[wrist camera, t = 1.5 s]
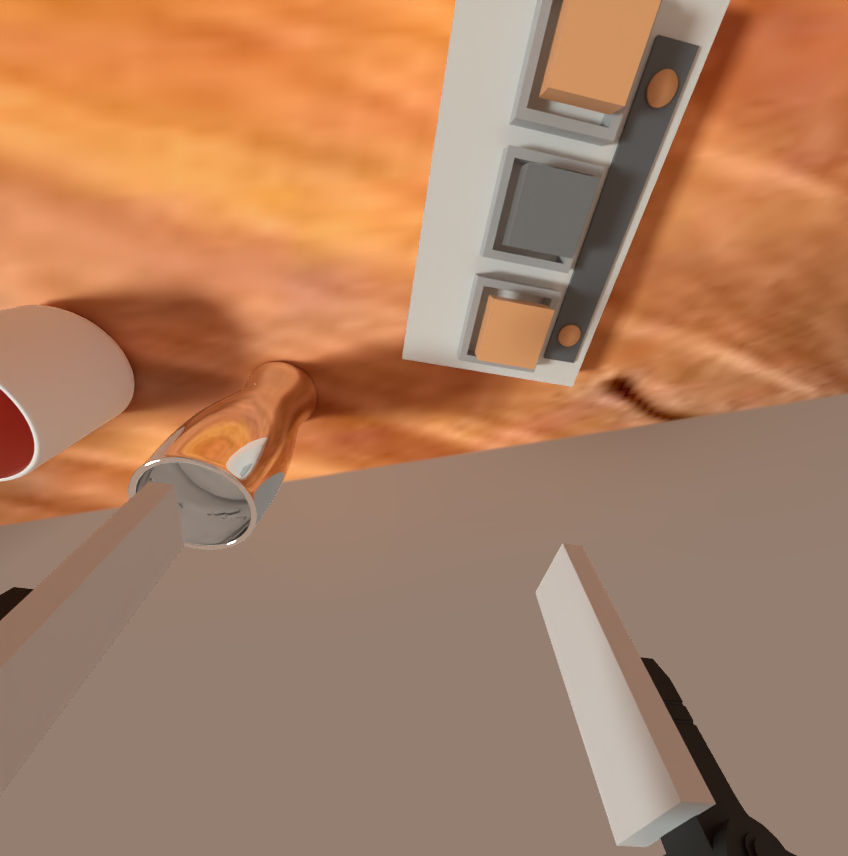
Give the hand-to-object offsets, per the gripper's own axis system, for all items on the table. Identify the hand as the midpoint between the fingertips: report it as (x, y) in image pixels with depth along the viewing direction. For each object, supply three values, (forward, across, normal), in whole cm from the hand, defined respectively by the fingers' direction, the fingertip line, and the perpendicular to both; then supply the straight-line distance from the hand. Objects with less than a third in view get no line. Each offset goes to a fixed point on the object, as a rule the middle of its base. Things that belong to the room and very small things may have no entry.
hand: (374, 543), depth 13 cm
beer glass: (+21, -10, -6) cm, 24 cm away
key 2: (+16, +7, +19) cm, 26 cm away
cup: (+21, -27, -6) cm, 35 cm away
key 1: (+16, +7, +5) cm, 18 cm away
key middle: (+16, +7, +12) cm, 21 cm away
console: (+21, +7, +12) cm, 25 cm away
